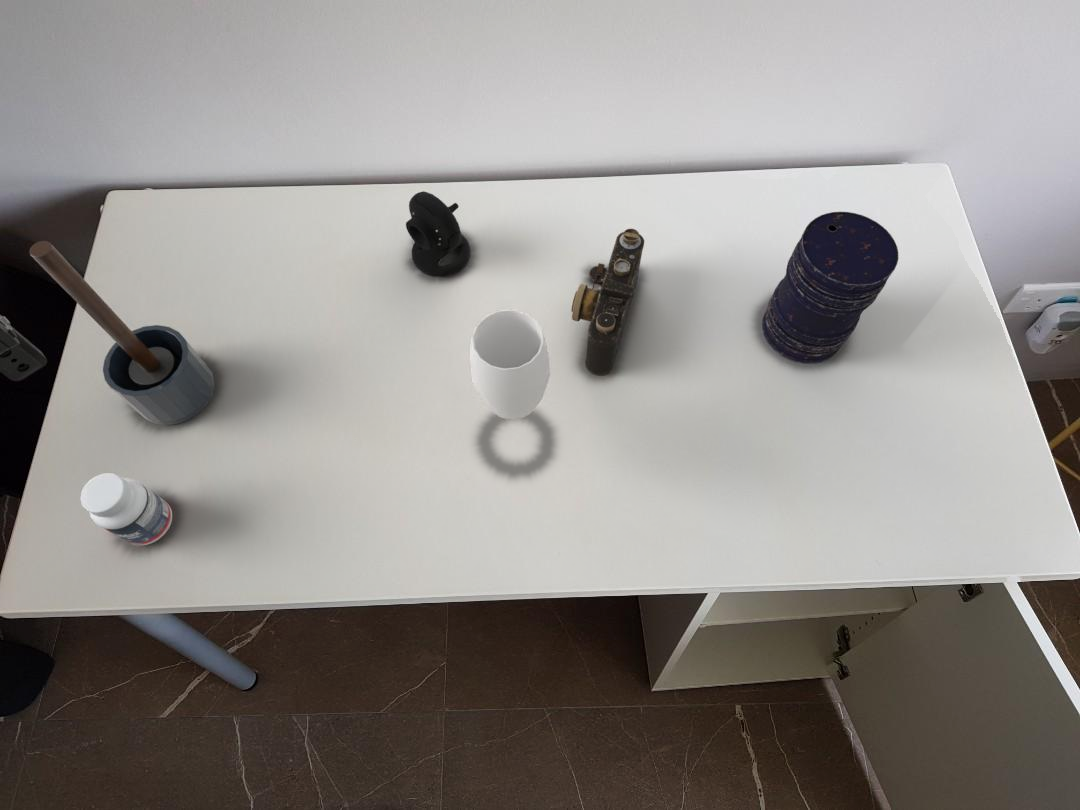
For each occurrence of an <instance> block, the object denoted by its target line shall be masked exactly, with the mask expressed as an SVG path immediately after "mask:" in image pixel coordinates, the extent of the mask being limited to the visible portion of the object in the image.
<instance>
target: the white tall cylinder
mask: <svg viewBox="0 0 1080 810" xmlns="http://www.w3.org/2000/svg"><path fill="white" fill-rule="evenodd" d="M470 339H471V340H470V347H469V359H470V370H471V379H472V380H471V381H472V385H473V387H474V389H475V390H476V392H477V395H478V396H479V398H480V400H481V401H482V403H483V404H484V406H485V407H486V408H487V409H488V410H489V411H490V412H491V413H493V414H494V415H496V416H497V417H499V418H502V419H506V420H518V419H519V420H521V419H522V418H524V417H527V416H528V415H530V414H532V412H533V411H534V410H535V409H536V408H537V407H538V406H539V404H540V403H541V402H542V400H543V398H544V395H545V391H546V389H547V386H548V383H549V379H550V376H551V368H550V355H549V350H548V344H547V340H546V337H545V333H544V330H543V328H542V326H541V325H540V323H539V322H538V321H537V319H536V318H534V317H533V316H532V315H530V314H528V313H526V312H525V311H521V310H515V309H513V308H512V309H511V308H509V309H504V310H503V309H502V310H501V309H500V310H496V311H494V312H492V313H489V314H487V315H485V316H483V318H482V319H481V320H480V321H479V322H478V323H477V324H476V325H475V327H474V330H473V333H472V335H471V337H470Z"/></svg>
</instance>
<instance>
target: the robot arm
mask: <svg viewBox="0 0 1080 810" xmlns="http://www.w3.org/2000/svg"><path fill="white" fill-rule="evenodd" d="M47 363H48V359H47V357H46V356H45V355H44V353H43V352H42V350H40V349H39V348H38V347H37V346H35V345H34V343H32V342H31V341H30V340H28V339H27V338H26V337H24V335H22V333H20V332H19V331H17V329H16V328H14V327H13V326H12V325H11V321H9V319H8V318H7V317H6V316H4V315H1V314H0V373H1V374H2V375H4V376H5V377H7V378H8V379H9V380H11V381H13V382H19V381H23V380H25V379H26V378H28V377H29V376H31V375H33V374H35V373H36V372H38V371H39V370H40V369H42V368H44V367H45V366H46V365H47Z"/></svg>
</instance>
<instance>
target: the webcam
mask: <svg viewBox="0 0 1080 810" xmlns="http://www.w3.org/2000/svg"><path fill="white" fill-rule="evenodd" d="M458 208H459V204H458V203H457V202H454V203H452V204H450V205H449V206H448V205H447V204H446V203H445V202H444V201H443V200H442V199H440V198H439V197H437V196H435V194H433V193H430V192H427V191H424V190H423V191H419V192H417V193H415V194H414V195H413V196H412V197H411V198H410V200H409V202H408V209H409V214H410V216H411V217H410V219H408V220H407V221H406V222H405V228H406V231H407V233H408V235H409V236H410V238H411V239H412V240H413V244H412V247H411V260H412V262H413V264H414V266H415V267H416V269H418V271H420V272H421V273H423V274H425V275H427V276H429V277H437V278H439V277H440V278H441V277H450V276H452V275H455V274H457V273H458V272H460V271H462V270H463V269H464V268H465V267H466V265H467V264H468V263H469V260H470V257H471V246H470V243H469V241H468V239H467V238H466V237H465V236H464V235H463V234H462V232H461V231H462V230H461V227H460V224H459V222H458V220H457V218H456V216H455V215H454V212H455V211H456V210H458ZM455 249H458V255H457V256H456V258H455V259H454V260H452V261H451V262H449V263H446V264H440V262H441V261H442V259H444V258H445V256H447V255H448V254H449V253H450V252H452V251H454V250H455Z"/></svg>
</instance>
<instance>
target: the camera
mask: <svg viewBox="0 0 1080 810" xmlns="http://www.w3.org/2000/svg"><path fill="white" fill-rule="evenodd" d="M644 246H645V239H644V237H643V236H642V235H641V234H640V233H639V231H638V230H637V229H635V228H627V229H625V230H624V231H622V232H620V233H619V234H618V235H617V236H616V239H615V241H614V245H613V248H612V252H611V255H610V259H609V262H608V264H607V268H606V267H605V263H598V265H596V266H593V267H591V268H590V269H589V272H588V277H589V280H590V281H591V283H593V284H592V287H591V288H589V287H588V284H585V283H580V284H579V285H578V288H577V290H576V291H575V293H574V296H573V300H572V304H571V312H572V313H571V321H574V322H580V321H581V320H583V321H587V322H590V323H589V327H588V331H587V344H586V352H585V353H586V355H585V360H584V361H585V362H584V365H585V368H586V370H587V371H588V372H589V373H590V374H592V375H594V376H605V375H608V374H610V373H611V372H612V370H613V368H614V365H615V362H616V357H617V354H618V351H619V348H620V347H619V346H620V343H621V339H622V336H623V334H624V333H623V332H624V329H625V325H626V321H627V319H628V314H629V311H630V307H631V303H632V300H633V298H634V295H635V291H636V285H637V283H638V278H639V272H640V266H641V261H642V255H643V250H644ZM595 285H601V286H598V289H594V288H595Z"/></svg>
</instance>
